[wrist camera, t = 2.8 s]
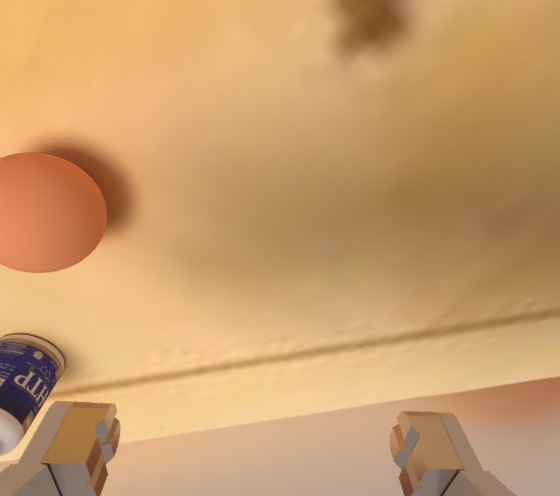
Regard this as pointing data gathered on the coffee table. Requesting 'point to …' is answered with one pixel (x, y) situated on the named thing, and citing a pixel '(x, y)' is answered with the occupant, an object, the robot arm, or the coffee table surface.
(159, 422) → the coffee table surface
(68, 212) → the ball
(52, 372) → the pill bottle
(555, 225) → the coffee table surface
